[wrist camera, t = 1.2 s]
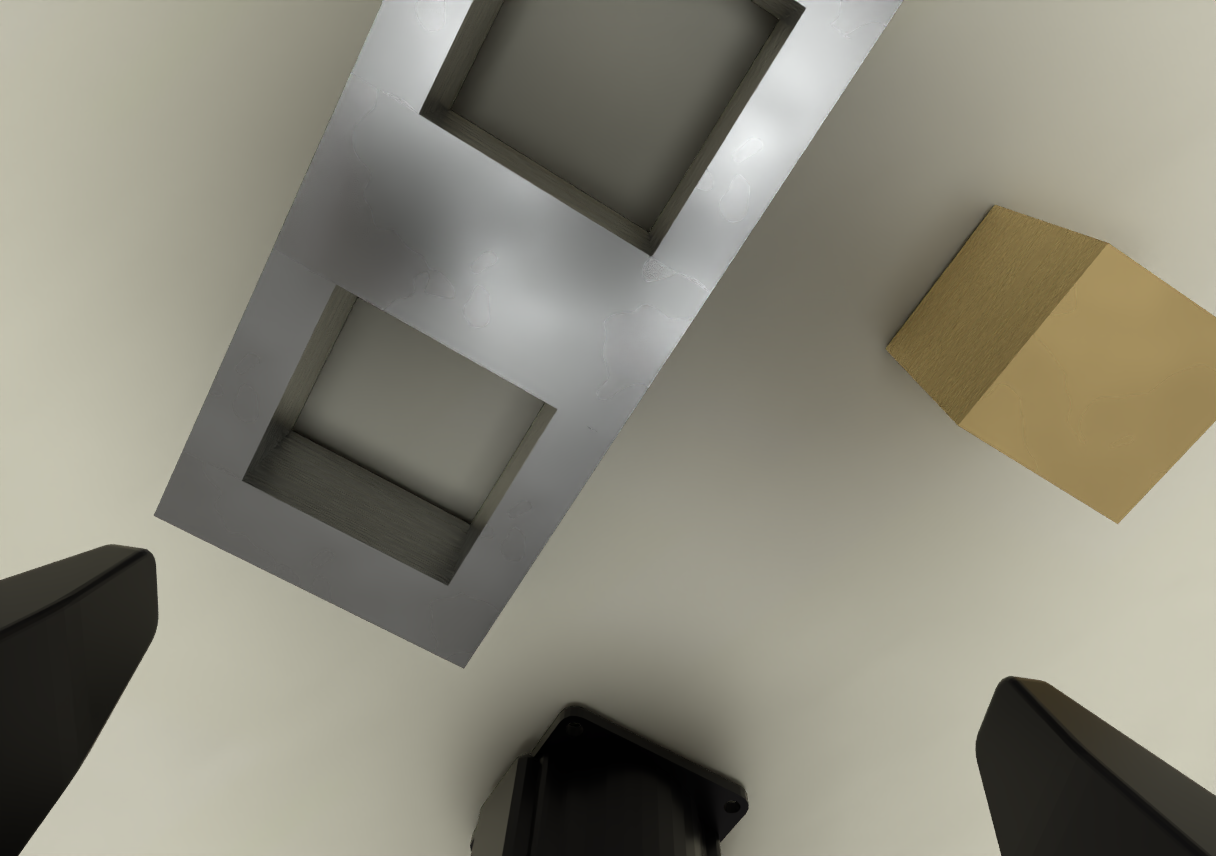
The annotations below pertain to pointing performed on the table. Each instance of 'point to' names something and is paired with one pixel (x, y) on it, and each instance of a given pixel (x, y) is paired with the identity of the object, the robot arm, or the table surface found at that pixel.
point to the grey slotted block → (477, 312)
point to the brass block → (1065, 358)
